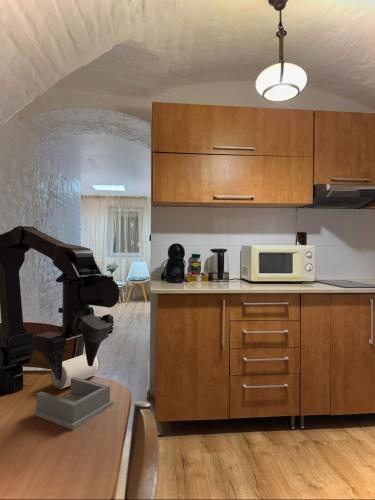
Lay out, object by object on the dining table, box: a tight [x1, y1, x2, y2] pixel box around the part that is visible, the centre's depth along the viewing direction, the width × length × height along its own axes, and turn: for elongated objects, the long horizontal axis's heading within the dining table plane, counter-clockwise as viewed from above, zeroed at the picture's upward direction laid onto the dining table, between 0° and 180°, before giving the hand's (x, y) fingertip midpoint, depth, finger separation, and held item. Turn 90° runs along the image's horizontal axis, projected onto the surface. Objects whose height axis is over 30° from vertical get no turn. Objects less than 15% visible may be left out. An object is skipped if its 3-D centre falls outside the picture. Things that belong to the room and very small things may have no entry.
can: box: [49, 353, 101, 390], centre depth 91 cm, size 6×6×12 cm
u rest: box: [33, 377, 114, 431], centre depth 75 cm, size 12×12×4 cm
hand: (75, 372), depth 75 cm, fingers open, 9 cm apart
